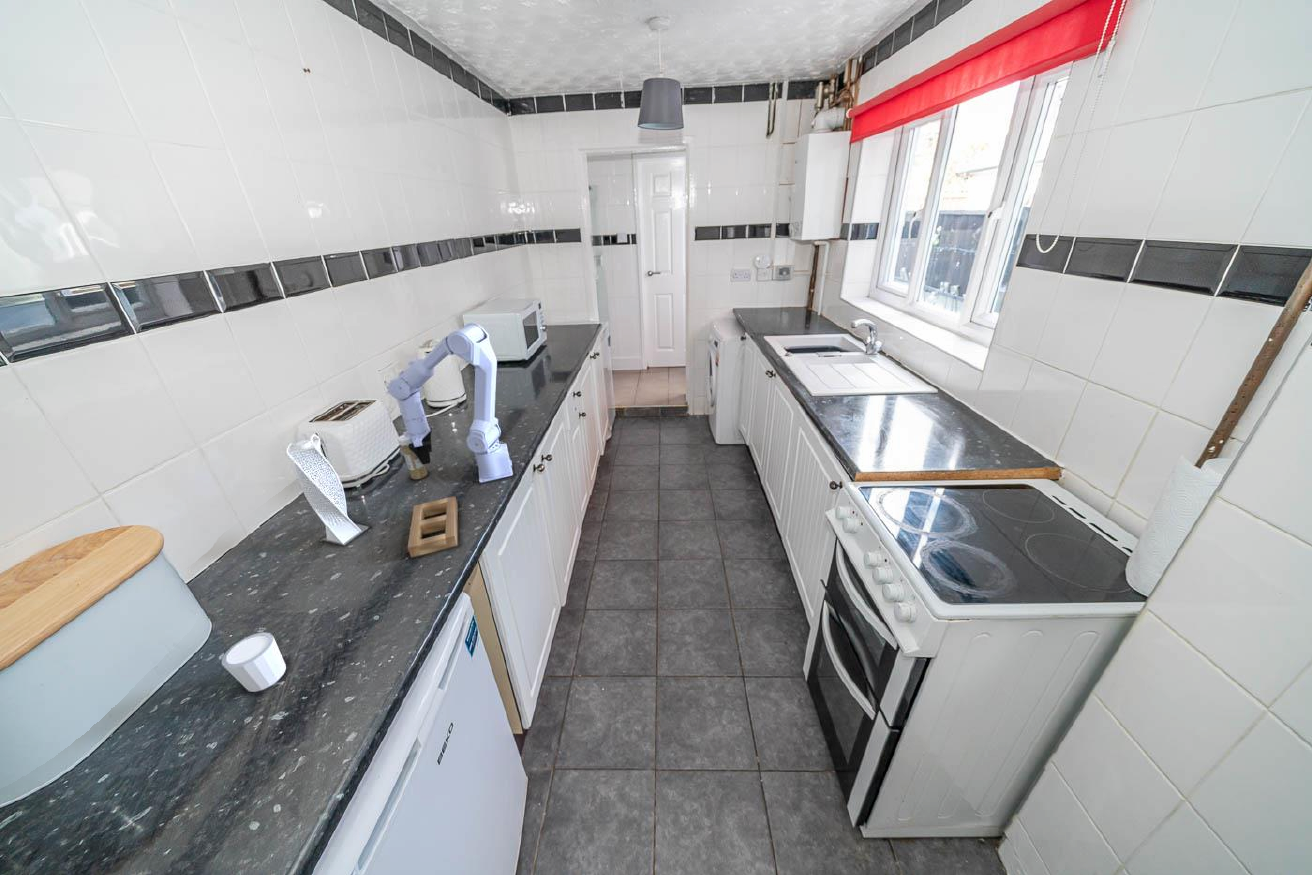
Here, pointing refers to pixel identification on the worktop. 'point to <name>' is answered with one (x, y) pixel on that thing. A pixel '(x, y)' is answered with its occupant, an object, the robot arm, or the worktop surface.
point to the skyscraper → (323, 490)
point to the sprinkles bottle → (412, 459)
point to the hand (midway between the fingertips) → (427, 457)
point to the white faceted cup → (255, 661)
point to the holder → (433, 527)
